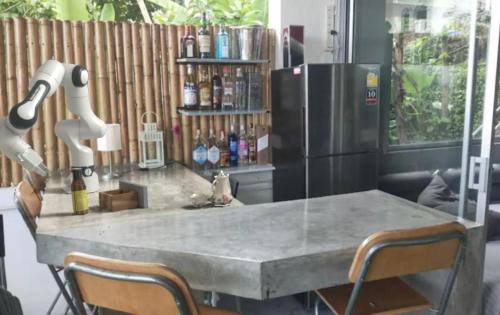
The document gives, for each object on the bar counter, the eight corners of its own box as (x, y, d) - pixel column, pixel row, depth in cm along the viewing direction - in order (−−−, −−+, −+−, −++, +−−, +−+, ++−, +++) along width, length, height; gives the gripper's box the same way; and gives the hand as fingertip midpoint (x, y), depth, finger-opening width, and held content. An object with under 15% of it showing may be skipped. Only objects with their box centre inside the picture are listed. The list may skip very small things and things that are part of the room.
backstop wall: (119, 200, 210) (118, 180, 209) (123, 200, 212) (122, 180, 210) (144, 208, 195) (143, 186, 194) (148, 207, 196) (147, 186, 195)
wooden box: (99, 207, 198) (98, 192, 197) (124, 202, 207) (123, 188, 206) (112, 212, 189) (112, 196, 188) (137, 206, 198) (137, 191, 197)
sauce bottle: (91, 212, 189) (89, 167, 187) (81, 215, 183) (78, 169, 181) (79, 211, 191) (76, 167, 189) (69, 214, 185) (66, 169, 183)
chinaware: (217, 199, 219) (213, 167, 218) (246, 199, 212) (243, 165, 210) (185, 212, 194) (181, 176, 193) (217, 212, 187) (213, 174, 185)
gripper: (19, 148, 167) (49, 171, 172) (28, 143, 186) (54, 164, 191) (7, 160, 166) (37, 183, 171) (17, 154, 186) (44, 175, 190)
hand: (46, 173), depth 181 cm, fingers open, 8 cm apart
